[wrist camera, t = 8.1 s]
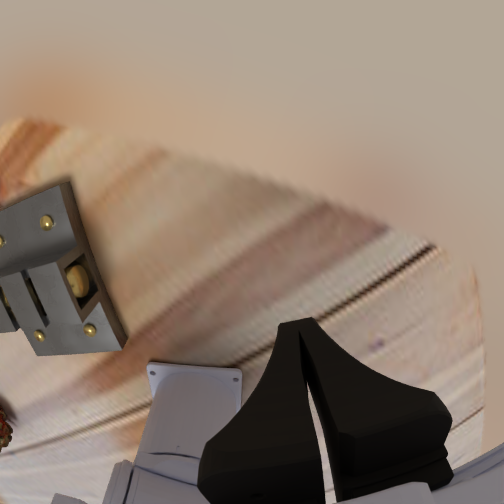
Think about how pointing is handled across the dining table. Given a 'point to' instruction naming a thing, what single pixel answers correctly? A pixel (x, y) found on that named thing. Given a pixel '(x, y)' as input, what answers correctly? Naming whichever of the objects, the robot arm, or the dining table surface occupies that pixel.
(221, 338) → the dining table surface
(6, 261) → the hinge leaves
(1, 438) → the dragon fruit
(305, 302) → the dining table surface
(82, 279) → the pin
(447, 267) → the dining table surface
